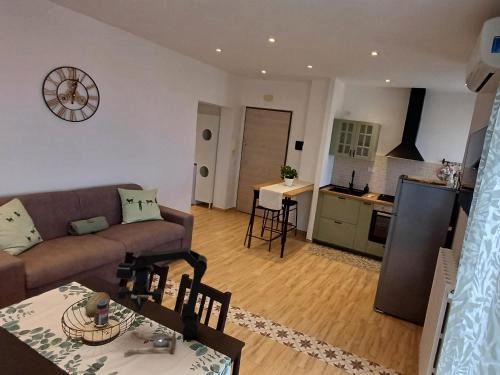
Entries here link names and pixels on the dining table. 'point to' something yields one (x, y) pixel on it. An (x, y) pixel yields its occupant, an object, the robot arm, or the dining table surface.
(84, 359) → the dining table surface
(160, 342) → the stud
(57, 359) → the dining table surface
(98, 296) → the bread roll
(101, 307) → the supplement bottle
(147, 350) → the channel
